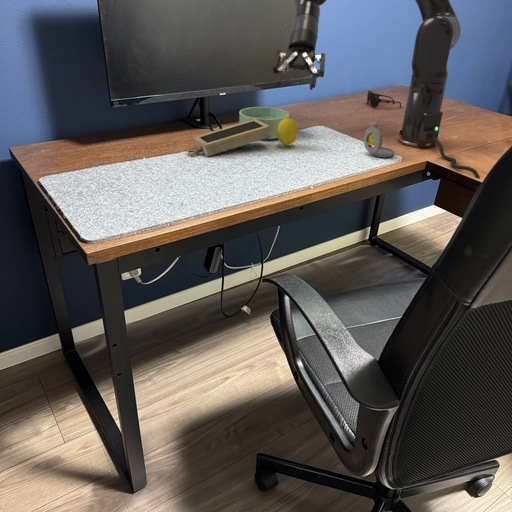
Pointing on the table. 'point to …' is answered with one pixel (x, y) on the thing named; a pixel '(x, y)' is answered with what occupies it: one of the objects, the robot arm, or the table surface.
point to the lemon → (287, 131)
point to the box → (231, 137)
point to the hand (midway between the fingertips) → (295, 86)
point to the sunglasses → (377, 99)
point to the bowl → (264, 117)
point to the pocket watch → (376, 142)
